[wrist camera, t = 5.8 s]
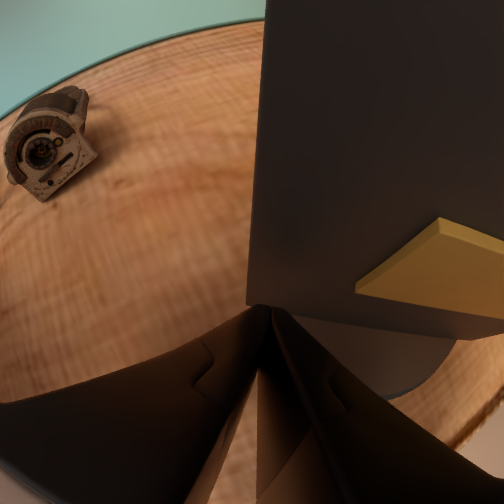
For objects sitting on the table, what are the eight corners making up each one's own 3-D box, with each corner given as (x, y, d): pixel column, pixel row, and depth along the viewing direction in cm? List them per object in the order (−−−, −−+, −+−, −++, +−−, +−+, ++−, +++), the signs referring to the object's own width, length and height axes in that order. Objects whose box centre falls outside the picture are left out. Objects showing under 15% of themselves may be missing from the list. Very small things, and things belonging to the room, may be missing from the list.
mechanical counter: (-35, 188, 13) (35, 137, 11) (15, 73, 16) (91, 21, 15) (24, 217, 20) (104, 188, 18) (54, 110, 23) (128, 72, 21)
